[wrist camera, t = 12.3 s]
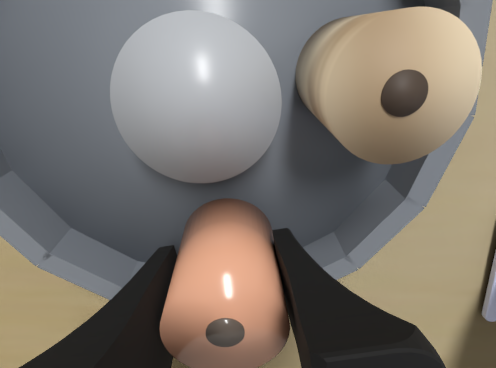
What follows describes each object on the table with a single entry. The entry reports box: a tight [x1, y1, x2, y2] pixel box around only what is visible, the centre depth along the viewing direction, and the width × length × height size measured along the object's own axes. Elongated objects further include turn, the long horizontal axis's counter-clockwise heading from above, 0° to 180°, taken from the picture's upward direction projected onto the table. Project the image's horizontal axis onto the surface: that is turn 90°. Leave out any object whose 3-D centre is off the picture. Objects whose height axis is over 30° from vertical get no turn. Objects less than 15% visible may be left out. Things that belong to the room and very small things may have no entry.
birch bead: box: [295, 6, 482, 164], centre depth 11 cm, size 4×4×5 cm
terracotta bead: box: [159, 198, 290, 368], centre depth 12 cm, size 4×4×5 cm
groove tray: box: [0, 0, 492, 300], centre depth 12 cm, size 20×20×3 cm
